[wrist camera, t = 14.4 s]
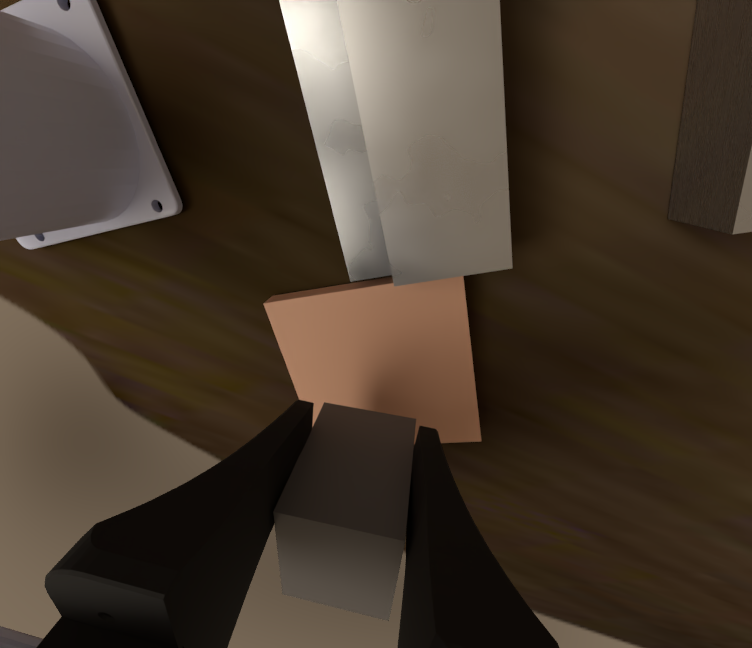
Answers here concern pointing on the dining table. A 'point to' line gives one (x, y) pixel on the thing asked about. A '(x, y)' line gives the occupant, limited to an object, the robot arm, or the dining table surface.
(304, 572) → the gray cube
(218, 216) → the dining table surface
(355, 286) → the pad
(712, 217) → the parallel gray bars
